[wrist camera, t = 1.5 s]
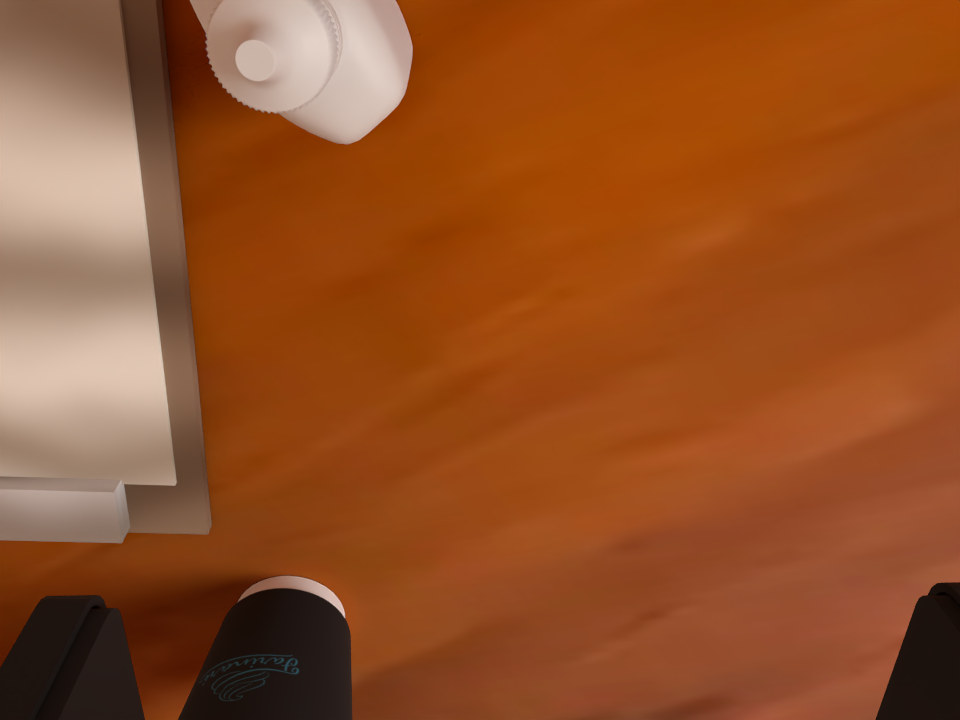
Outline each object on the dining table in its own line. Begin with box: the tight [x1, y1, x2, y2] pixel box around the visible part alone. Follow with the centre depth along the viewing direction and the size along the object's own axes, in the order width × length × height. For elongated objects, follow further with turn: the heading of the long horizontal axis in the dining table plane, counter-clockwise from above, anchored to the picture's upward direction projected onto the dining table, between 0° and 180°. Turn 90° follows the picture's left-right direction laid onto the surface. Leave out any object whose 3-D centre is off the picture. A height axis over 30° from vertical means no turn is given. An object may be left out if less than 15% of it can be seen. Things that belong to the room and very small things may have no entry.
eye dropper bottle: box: [190, 0, 413, 144], centre depth 20 cm, size 4×6×12 cm
